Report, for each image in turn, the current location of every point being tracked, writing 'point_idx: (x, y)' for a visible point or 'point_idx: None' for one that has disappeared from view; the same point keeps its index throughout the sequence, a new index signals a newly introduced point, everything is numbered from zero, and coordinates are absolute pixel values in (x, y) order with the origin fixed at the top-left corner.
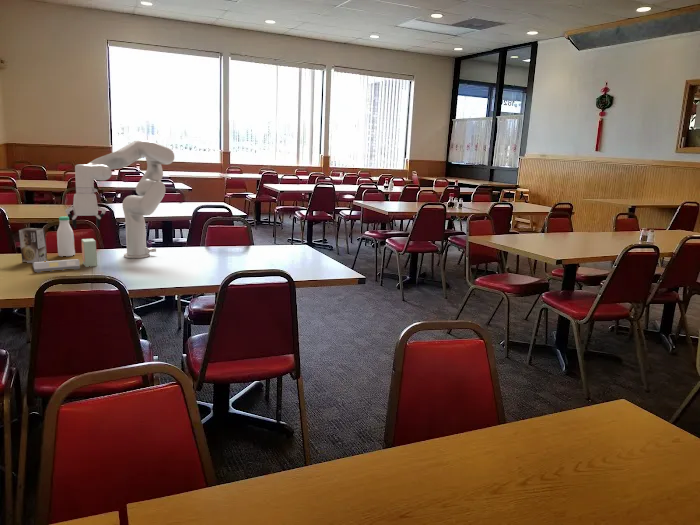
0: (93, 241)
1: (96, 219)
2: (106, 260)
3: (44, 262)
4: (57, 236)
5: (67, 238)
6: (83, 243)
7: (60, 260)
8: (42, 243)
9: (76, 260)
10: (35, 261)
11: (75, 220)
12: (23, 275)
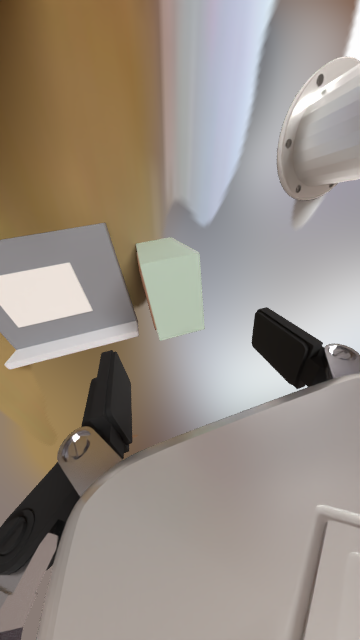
0: (195, 330)
1: (299, 361)
2: (209, 202)
3: (40, 360)
4: None
5: None
6: (155, 327)
7: (84, 345)
8: None
9: (131, 336)
10: None
11: (125, 445)
12: (9, 371)
